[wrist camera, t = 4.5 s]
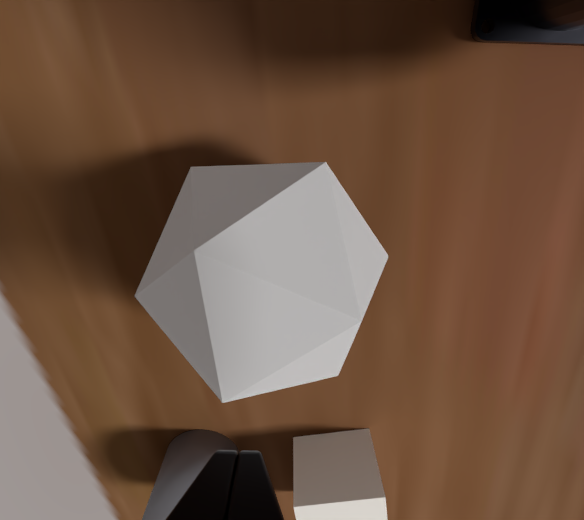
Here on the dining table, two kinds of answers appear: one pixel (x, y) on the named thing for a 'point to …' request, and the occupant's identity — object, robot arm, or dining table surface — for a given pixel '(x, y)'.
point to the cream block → (337, 477)
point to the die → (262, 275)
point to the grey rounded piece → (182, 469)
